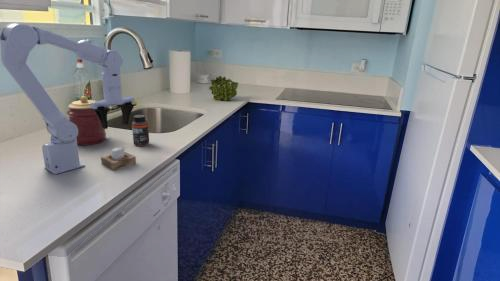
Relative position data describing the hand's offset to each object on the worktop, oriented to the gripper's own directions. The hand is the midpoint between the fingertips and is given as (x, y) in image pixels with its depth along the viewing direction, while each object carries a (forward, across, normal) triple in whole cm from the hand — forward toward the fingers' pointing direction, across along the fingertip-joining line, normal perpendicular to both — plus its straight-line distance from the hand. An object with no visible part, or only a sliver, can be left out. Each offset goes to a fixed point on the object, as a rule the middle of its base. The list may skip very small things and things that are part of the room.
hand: (115, 126), depth 118 cm
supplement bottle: (+11, +12, +4) cm, 17 cm away
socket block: (+10, -4, -8) cm, 14 cm away
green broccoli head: (+11, +96, +43) cm, 106 cm away
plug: (+10, -4, -8) cm, 14 cm away
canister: (+11, 0, +22) cm, 24 cm away
